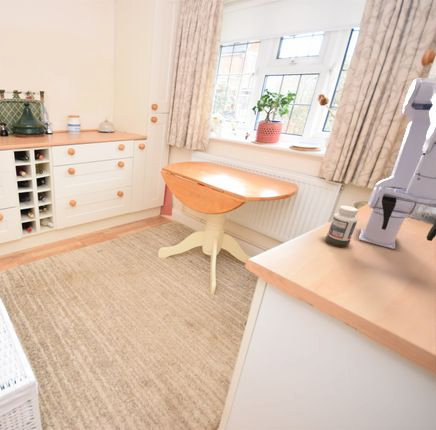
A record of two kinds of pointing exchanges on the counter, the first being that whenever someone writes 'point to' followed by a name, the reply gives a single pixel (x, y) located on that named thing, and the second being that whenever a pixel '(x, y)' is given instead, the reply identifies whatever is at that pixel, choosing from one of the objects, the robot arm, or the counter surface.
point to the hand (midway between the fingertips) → (405, 233)
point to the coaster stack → (336, 242)
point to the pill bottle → (343, 223)
